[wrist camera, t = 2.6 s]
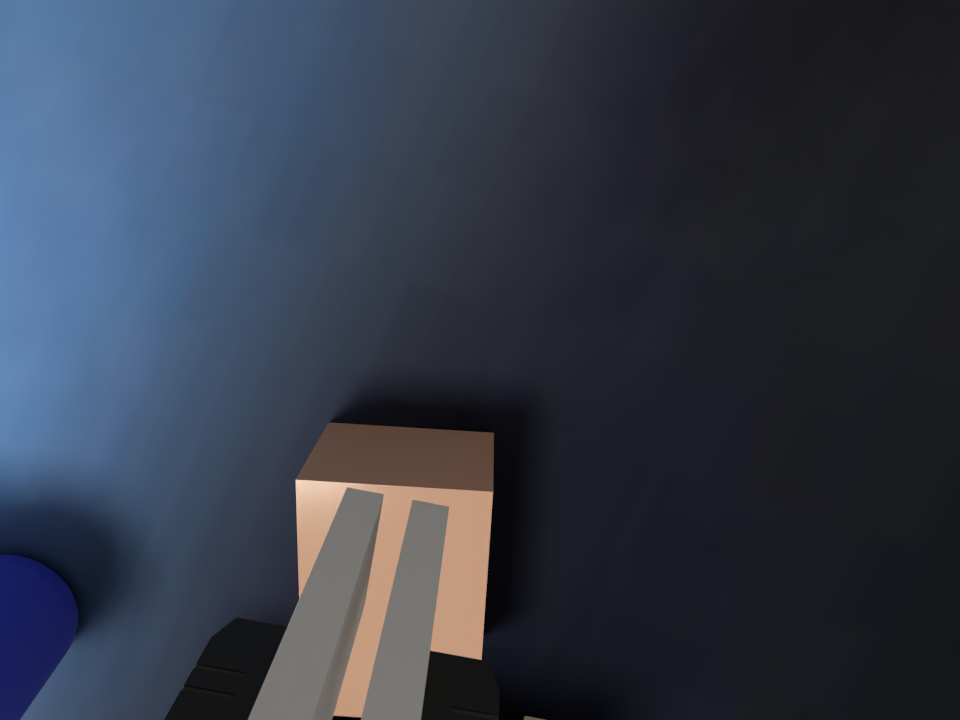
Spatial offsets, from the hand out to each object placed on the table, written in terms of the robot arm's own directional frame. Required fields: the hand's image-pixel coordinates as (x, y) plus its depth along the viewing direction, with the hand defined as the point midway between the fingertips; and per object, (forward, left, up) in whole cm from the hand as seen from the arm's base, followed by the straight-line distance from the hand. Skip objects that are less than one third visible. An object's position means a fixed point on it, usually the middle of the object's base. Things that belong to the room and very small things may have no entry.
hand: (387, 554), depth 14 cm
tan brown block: (+12, 0, -19) cm, 22 cm away
